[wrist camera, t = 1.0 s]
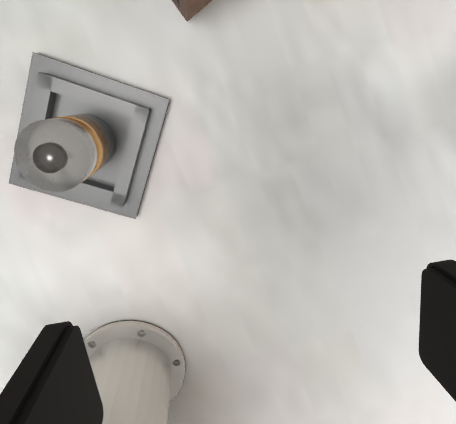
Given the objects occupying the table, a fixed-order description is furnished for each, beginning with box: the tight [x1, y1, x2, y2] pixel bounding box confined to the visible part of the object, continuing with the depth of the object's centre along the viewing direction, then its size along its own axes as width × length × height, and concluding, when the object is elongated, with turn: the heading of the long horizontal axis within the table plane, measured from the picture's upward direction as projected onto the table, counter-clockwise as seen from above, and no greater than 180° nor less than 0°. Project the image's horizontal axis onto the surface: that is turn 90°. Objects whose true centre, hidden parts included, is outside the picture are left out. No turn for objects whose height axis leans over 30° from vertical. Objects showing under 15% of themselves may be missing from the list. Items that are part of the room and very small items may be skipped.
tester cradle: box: [9, 52, 170, 219], centre depth 34 cm, size 12×12×2 cm
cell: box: [14, 114, 116, 192], centre depth 29 cm, size 5×5×10 cm
